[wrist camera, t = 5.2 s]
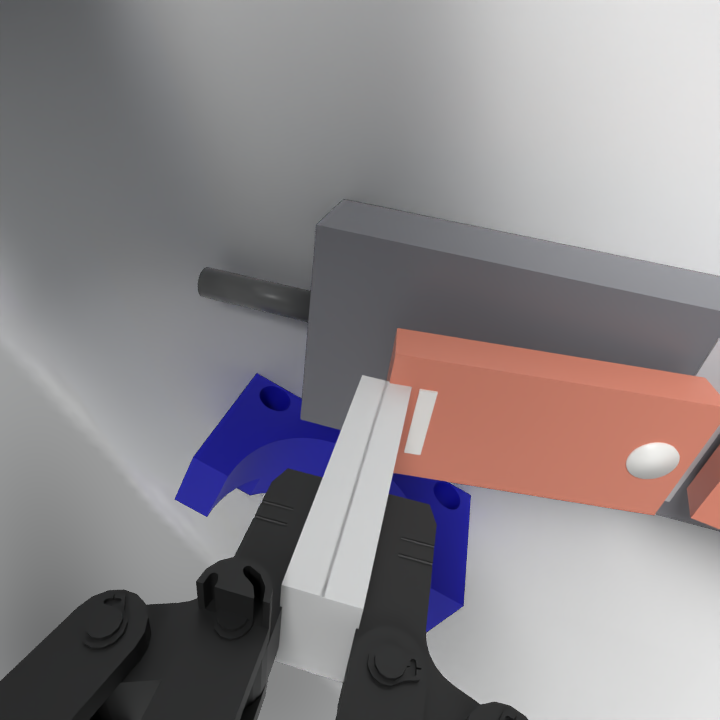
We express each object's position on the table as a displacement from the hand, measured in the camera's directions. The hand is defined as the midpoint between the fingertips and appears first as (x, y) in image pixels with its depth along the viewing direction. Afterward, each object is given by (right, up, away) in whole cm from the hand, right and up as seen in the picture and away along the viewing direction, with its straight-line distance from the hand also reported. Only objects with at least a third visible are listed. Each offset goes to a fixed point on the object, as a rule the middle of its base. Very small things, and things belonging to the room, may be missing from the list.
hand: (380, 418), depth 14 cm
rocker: (+5, 0, +1) cm, 5 cm away
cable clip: (-1, -3, +11) cm, 11 cm away
